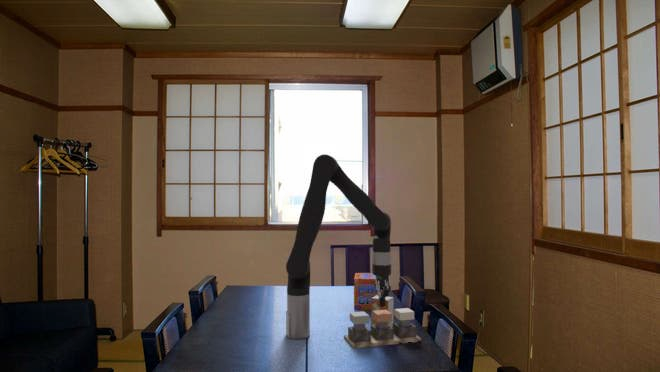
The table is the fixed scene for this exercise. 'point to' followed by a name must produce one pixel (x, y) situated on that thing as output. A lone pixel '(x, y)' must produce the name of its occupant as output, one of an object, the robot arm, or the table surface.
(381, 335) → the button board
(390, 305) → the small box
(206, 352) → the table surface
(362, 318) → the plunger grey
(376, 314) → the plunger terracotta
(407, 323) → the plunger cream
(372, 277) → the game box
